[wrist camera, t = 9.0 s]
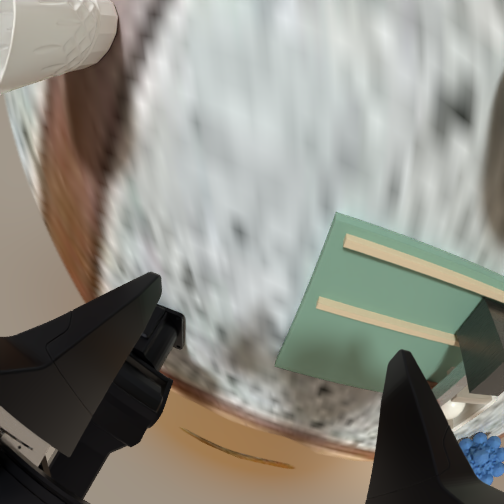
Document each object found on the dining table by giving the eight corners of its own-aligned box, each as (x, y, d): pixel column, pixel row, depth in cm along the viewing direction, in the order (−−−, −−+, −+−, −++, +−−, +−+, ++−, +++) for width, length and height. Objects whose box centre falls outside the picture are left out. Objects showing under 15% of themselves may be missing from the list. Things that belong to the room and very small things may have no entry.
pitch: (460, 396, 28) (461, 408, 26) (276, 357, 30) (272, 372, 29) (551, 299, 17) (559, 312, 15) (336, 212, 20) (335, 225, 18)
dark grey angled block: (428, 393, 26) (430, 442, 21) (401, 389, 27) (401, 440, 22) (510, 308, 18) (532, 364, 12) (484, 297, 18) (506, 358, 13)
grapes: (508, 415, 28) (514, 474, 19) (502, 427, 31) (506, 481, 21) (450, 434, 34) (450, 495, 24) (449, 444, 36) (449, 499, 27)
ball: (444, 430, 23) (422, 413, 25) (454, 407, 25) (434, 391, 27) (467, 415, 20) (444, 396, 22) (475, 391, 23) (454, 373, 25)
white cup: (101, 87, 18) (-2, 118, 11) (51, 59, 17) (-39, 83, 10) (141, 0, 14) (31, -11, 6) (81, -16, 13) (-15, -16, 5)
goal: (450, 399, 28) (453, 431, 24) (411, 394, 29) (412, 429, 25) (489, 365, 24) (497, 400, 20) (450, 357, 24) (457, 396, 20)
